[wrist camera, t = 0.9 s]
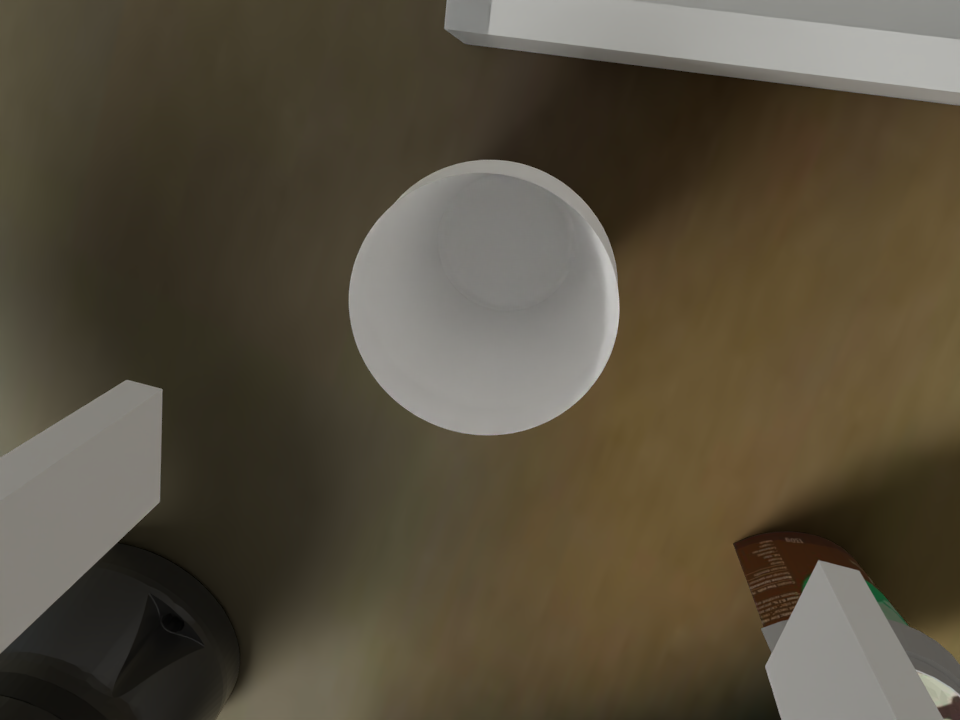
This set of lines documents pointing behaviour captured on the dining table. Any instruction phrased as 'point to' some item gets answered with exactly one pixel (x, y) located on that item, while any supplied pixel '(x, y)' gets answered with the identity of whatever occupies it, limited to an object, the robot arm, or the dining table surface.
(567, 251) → the cup
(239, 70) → the dining table surface
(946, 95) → the bin
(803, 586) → the food container
